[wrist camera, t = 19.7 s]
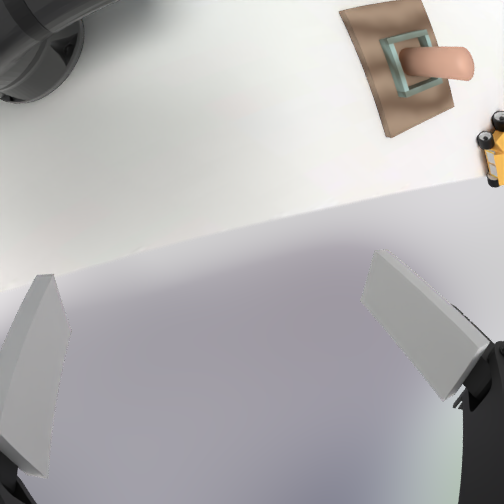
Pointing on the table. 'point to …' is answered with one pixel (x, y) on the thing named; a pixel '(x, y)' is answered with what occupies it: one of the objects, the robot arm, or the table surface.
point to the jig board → (396, 62)
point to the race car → (494, 150)
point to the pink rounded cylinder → (437, 62)
